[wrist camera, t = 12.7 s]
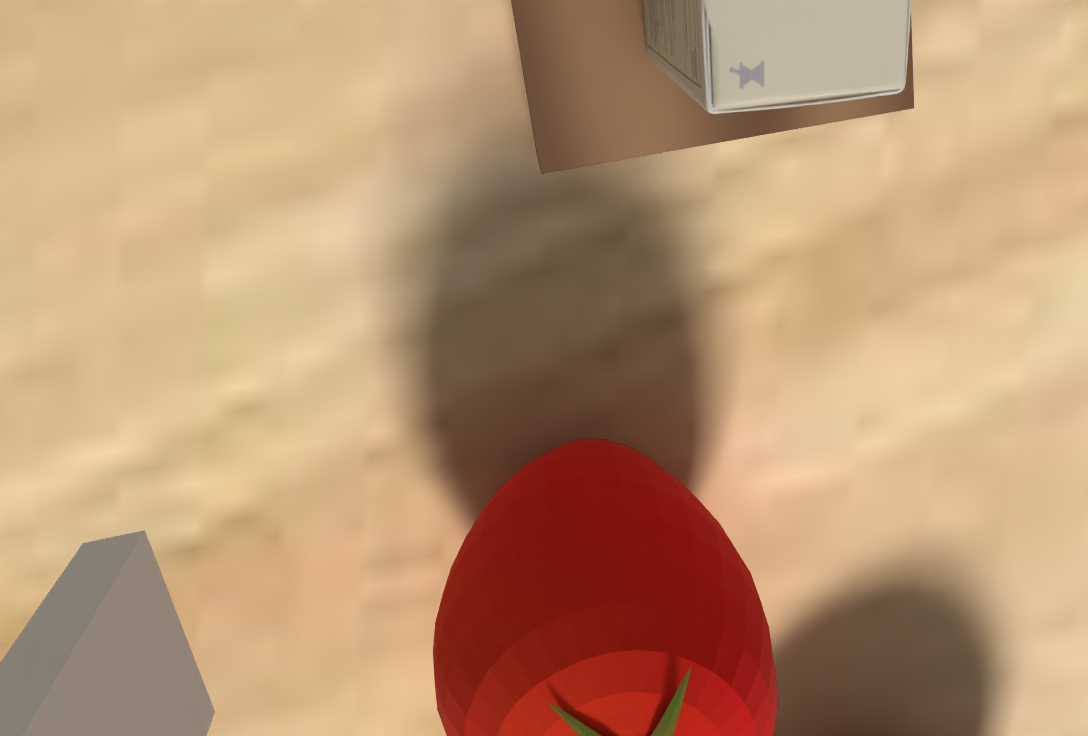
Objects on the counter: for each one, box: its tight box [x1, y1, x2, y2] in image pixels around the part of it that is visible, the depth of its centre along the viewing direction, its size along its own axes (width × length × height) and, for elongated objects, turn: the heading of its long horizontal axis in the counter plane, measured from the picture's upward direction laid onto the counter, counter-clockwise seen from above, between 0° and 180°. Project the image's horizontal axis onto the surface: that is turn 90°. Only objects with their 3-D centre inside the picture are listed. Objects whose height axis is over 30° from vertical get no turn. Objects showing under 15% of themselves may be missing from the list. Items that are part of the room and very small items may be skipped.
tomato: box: [433, 439, 778, 736], centre depth 35 cm, size 13×11×14 cm
